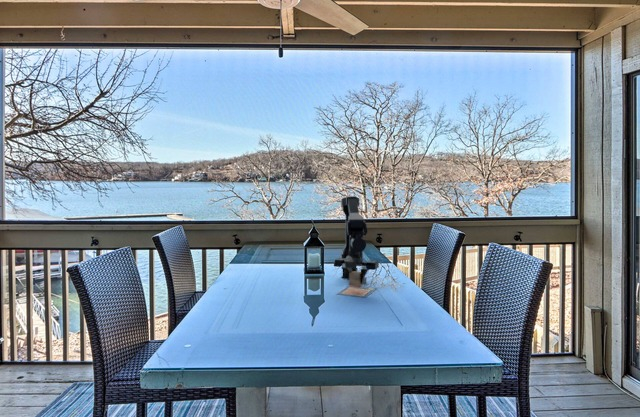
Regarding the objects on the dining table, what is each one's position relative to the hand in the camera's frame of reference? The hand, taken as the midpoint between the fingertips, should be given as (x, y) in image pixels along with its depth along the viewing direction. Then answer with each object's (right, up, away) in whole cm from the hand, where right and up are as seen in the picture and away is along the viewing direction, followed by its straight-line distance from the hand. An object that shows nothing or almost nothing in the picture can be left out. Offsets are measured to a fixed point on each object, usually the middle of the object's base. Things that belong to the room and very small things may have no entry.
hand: (356, 283), depth 181 cm
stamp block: (0, -1, 0) cm, 1 cm away
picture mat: (0, -4, +1) cm, 4 cm away
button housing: (+2, -3, +15) cm, 15 cm away
